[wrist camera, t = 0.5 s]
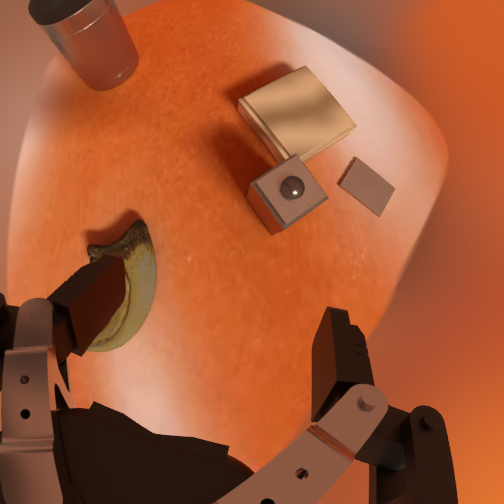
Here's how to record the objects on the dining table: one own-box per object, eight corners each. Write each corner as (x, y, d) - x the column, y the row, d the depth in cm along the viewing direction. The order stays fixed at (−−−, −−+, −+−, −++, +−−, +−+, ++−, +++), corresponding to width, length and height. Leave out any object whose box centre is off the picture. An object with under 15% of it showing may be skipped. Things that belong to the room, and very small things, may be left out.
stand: (237, 110, 37) (238, 96, 33) (300, 77, 38) (306, 62, 34) (287, 174, 38) (293, 165, 34) (348, 134, 38) (359, 123, 34)
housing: (246, 199, 37) (251, 179, 27) (281, 175, 38) (298, 148, 27) (271, 235, 38) (286, 229, 27) (306, 210, 38) (333, 195, 27)
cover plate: (337, 186, 39) (339, 185, 38) (354, 159, 39) (357, 157, 38) (376, 217, 39) (379, 216, 38) (391, 189, 39) (395, 188, 38)
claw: (106, 210, 36) (96, 207, 33) (175, 234, 37) (170, 233, 34) (74, 342, 36) (63, 349, 33) (135, 370, 37) (128, 380, 34)
